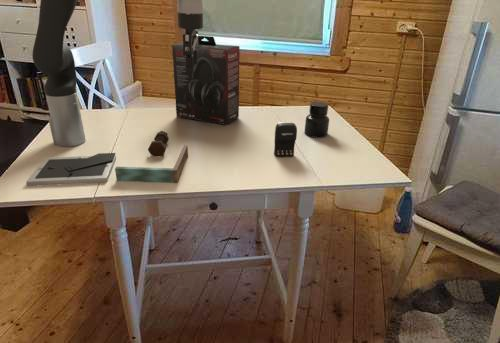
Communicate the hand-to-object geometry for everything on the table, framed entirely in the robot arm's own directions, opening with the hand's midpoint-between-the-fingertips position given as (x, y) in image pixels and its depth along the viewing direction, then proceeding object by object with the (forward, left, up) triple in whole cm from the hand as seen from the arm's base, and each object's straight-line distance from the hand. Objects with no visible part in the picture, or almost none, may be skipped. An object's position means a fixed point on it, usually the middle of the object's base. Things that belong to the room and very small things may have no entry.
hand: (191, 66), depth 116 cm
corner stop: (-9, -19, -27) cm, 34 cm away
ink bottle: (+45, +15, -27) cm, 55 cm away
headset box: (+1, +31, -27) cm, 41 cm away
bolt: (-11, -3, -27) cm, 30 cm away
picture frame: (-32, -23, -28) cm, 48 cm away
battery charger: (+31, -7, -27) cm, 42 cm away
